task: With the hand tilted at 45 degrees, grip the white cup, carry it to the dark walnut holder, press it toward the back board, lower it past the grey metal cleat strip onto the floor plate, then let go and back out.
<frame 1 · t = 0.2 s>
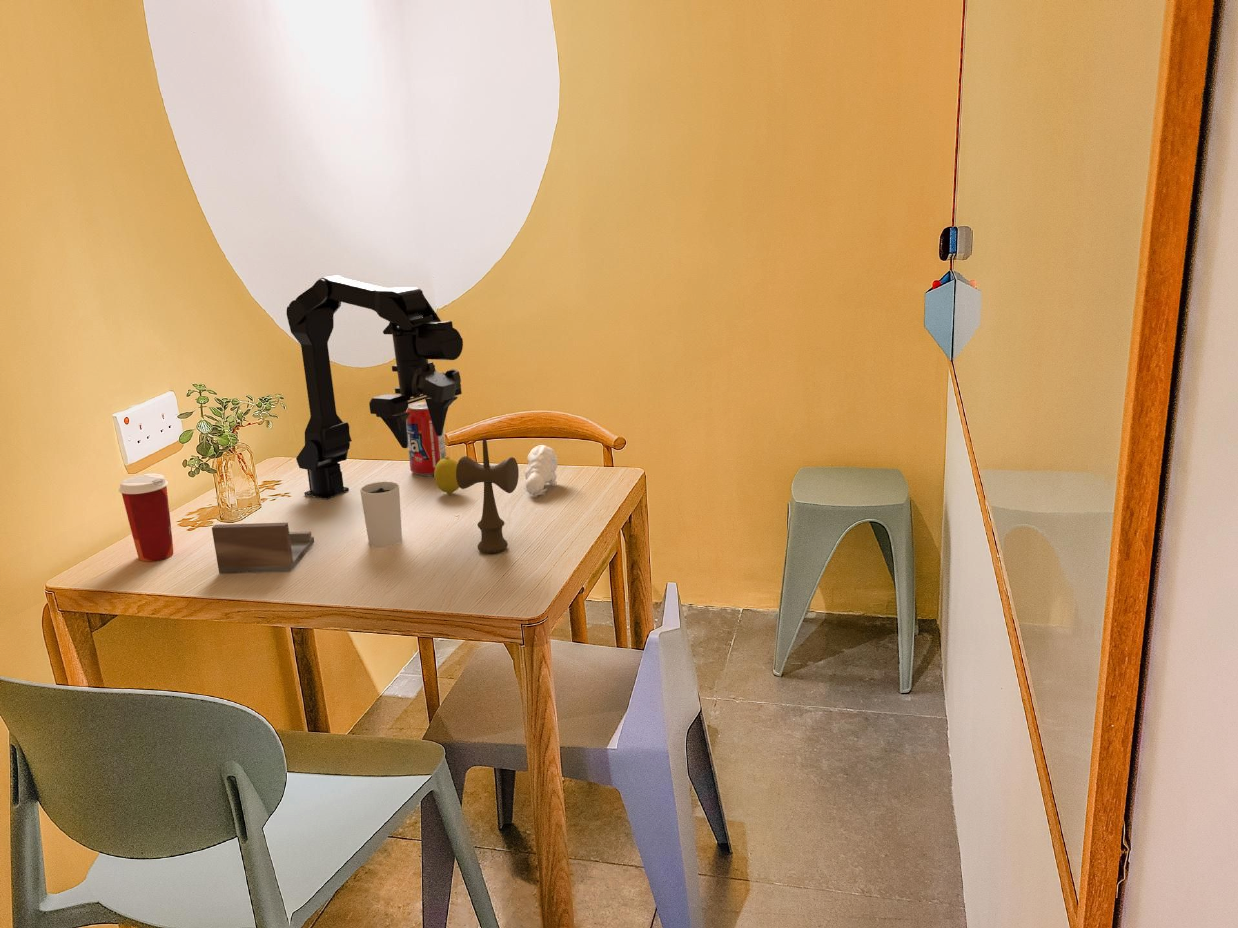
hand: (422, 441, 186), 14 cm above the table, tool pointing down, fingers open, 9 cm apart
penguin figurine: (540, 491, 202), on the table
glass holder: (267, 557, 171), on the table
white cup: (385, 541, 177), on the table
kendama: (493, 550, 172), on the table
soda can: (429, 473, 216), on the table
paper cup: (156, 556, 174), on the table
lemon: (450, 495, 201), on the table
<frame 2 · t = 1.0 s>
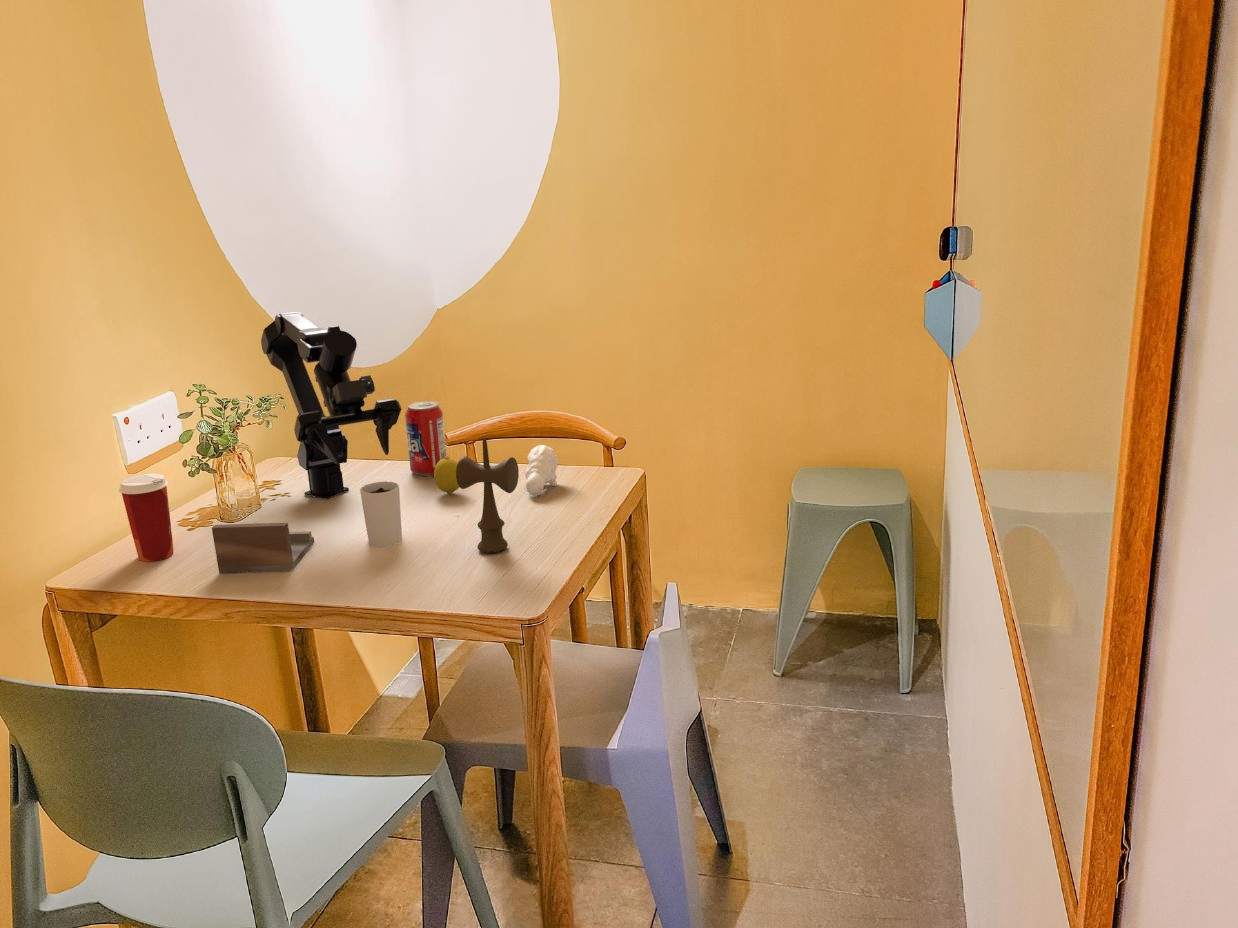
hand: (362, 458, 180), 13 cm above the table, tool tilted 45°, fingers open, 9 cm apart
nothing on the table moved.
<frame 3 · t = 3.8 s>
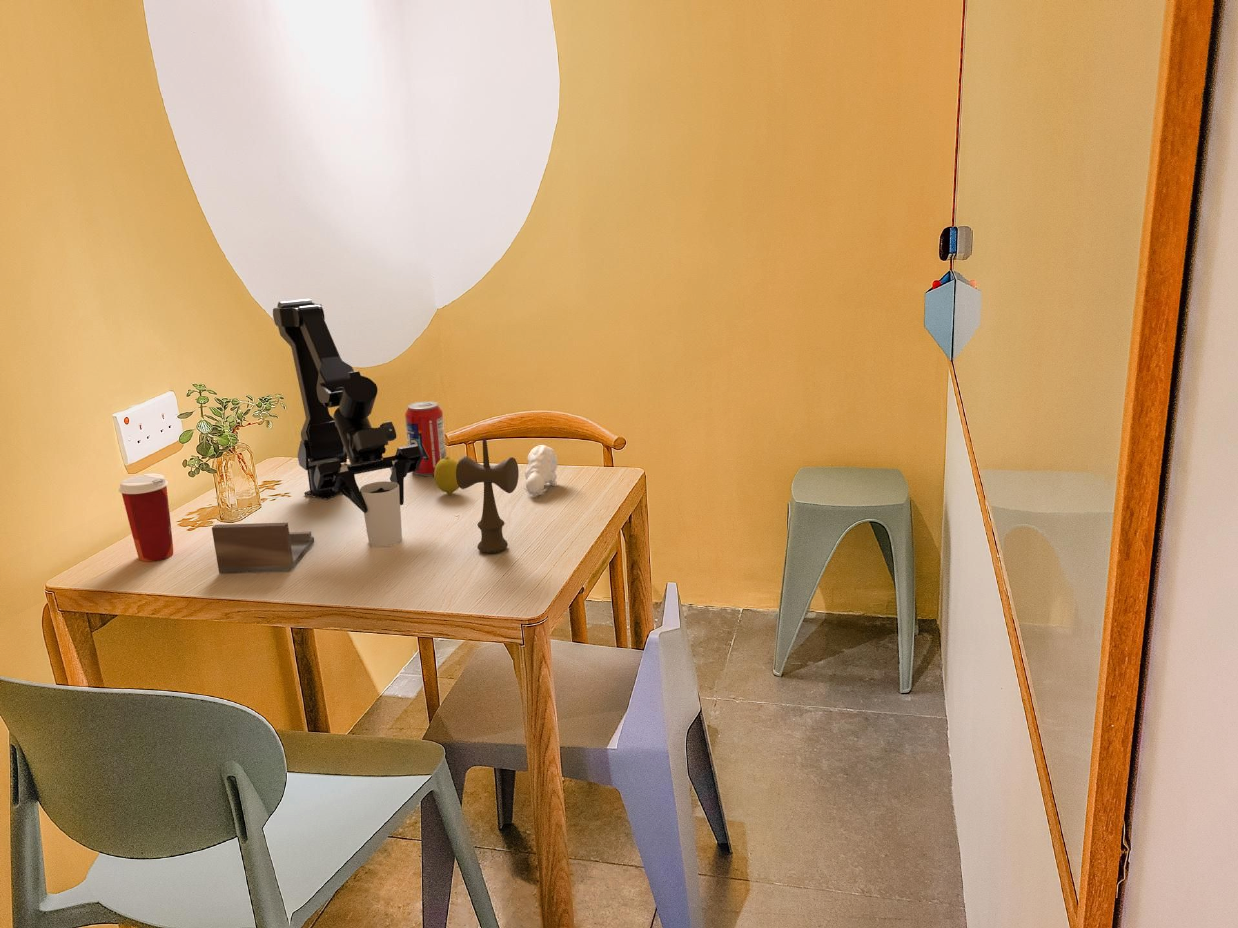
hand: (384, 507, 174), 7 cm above the table, tool tilted 45°, fingers closed on white cup, 6 cm apart
white cup: (385, 541, 177), on the table, touching gripper
everything else where it was.
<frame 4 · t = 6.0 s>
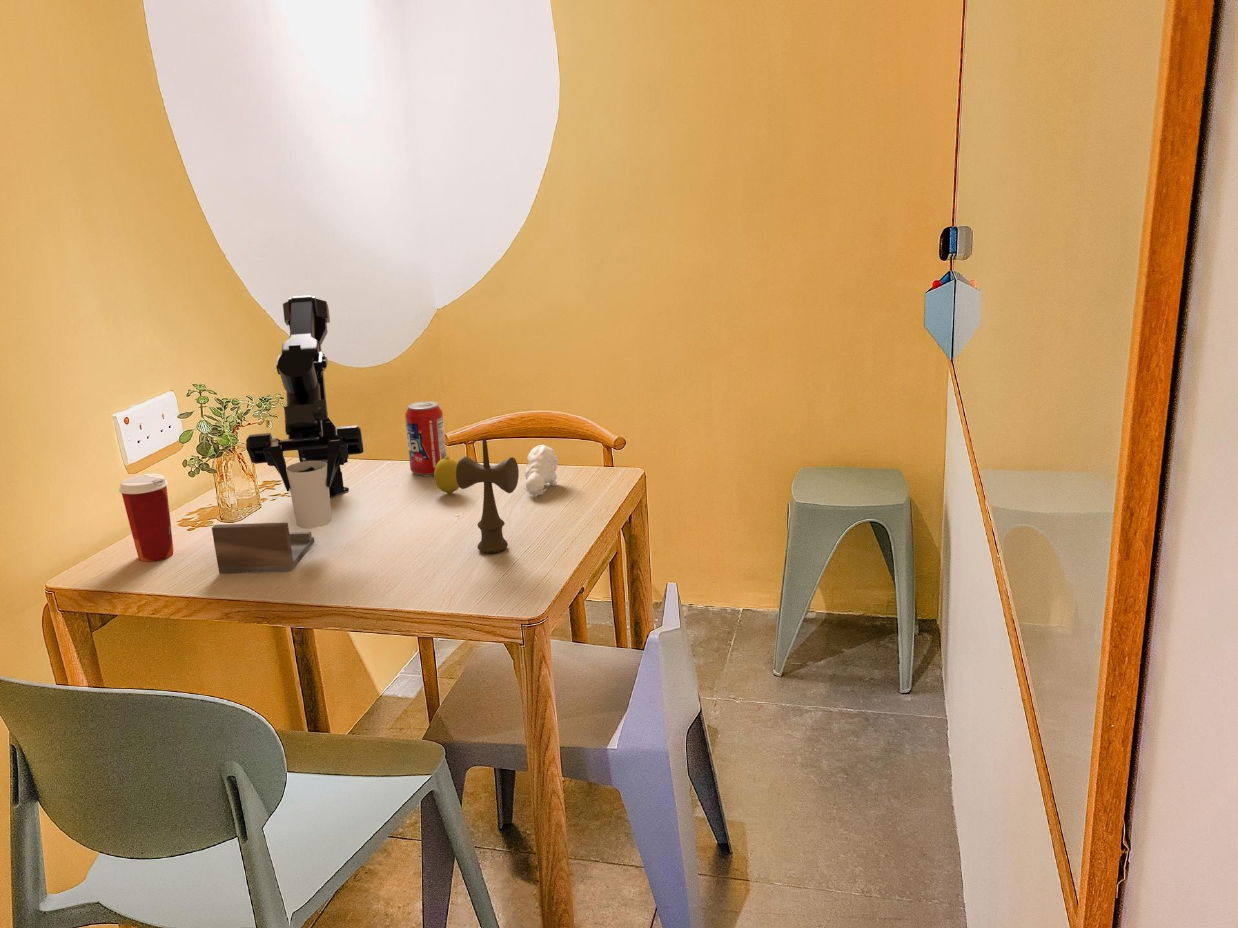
hand: (308, 488, 168), 12 cm above the table, tool tilted 45°, fingers closed on white cup, 6 cm apart
white cup: (314, 523, 171), point 5 cm above the table, touching gripper
everything else where it was.
when the fingers open (9 cm above the table, at t = 8.1 s): white cup drops 1 cm, resting on glass holder.
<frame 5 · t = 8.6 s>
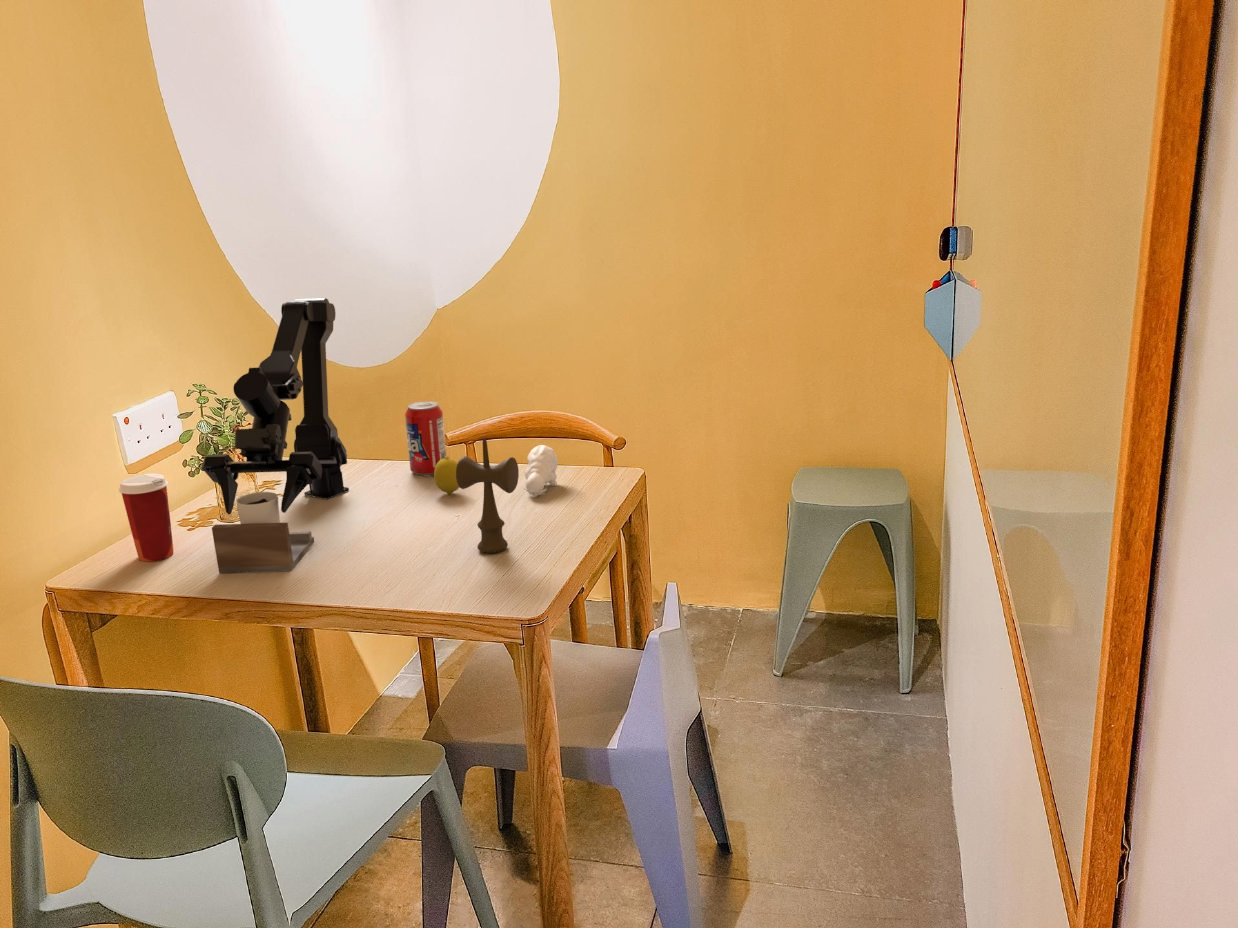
hand: (255, 512, 167), 9 cm above the table, tool tilted 45°, fingers open, 9 cm apart
white cup: (265, 554, 171), point 1 cm above the table, touching glass holder
everything else where it was.
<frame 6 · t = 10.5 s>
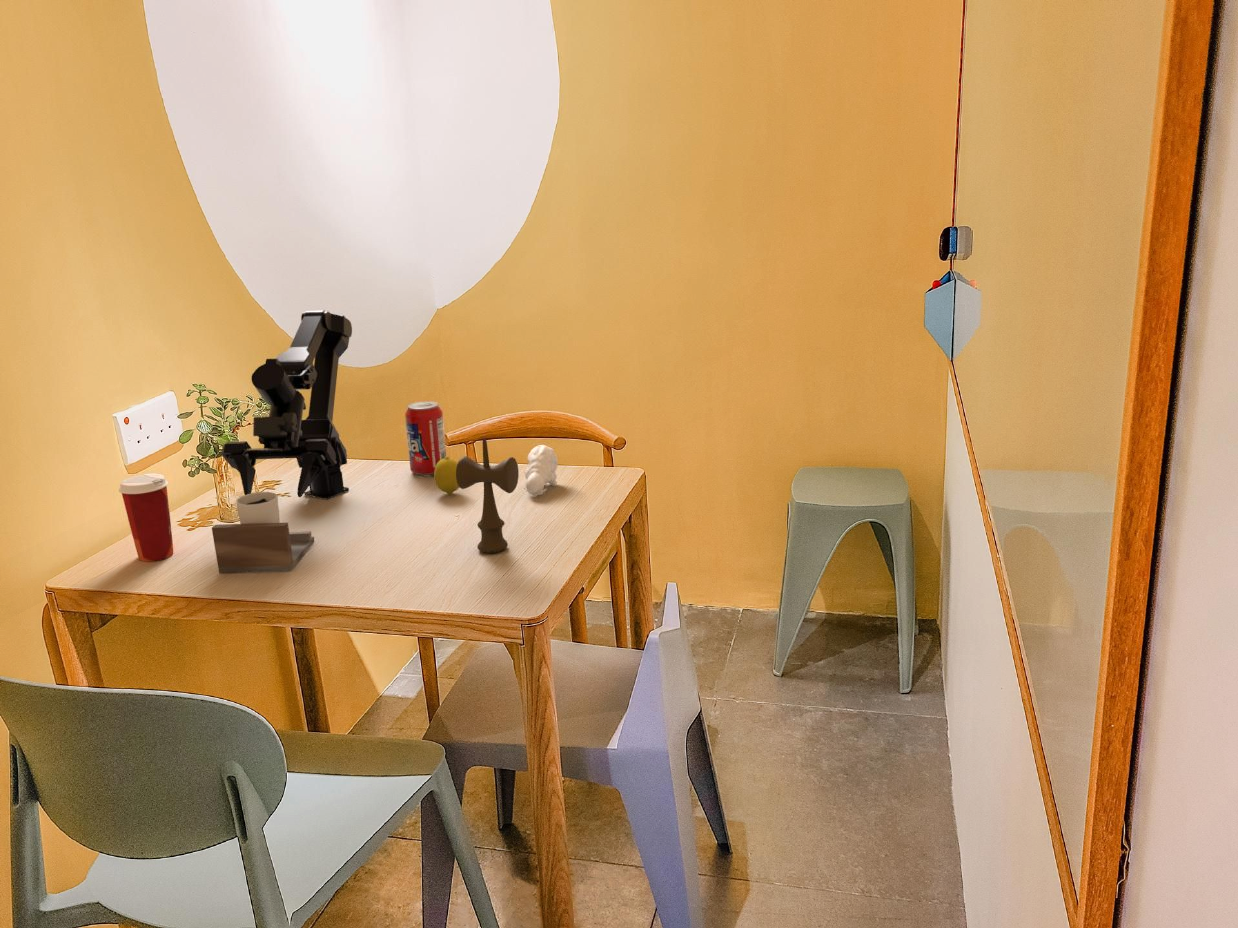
hand: (273, 496, 175), 9 cm above the table, tool tilted 45°, fingers open, 9 cm apart
nothing on the table moved.
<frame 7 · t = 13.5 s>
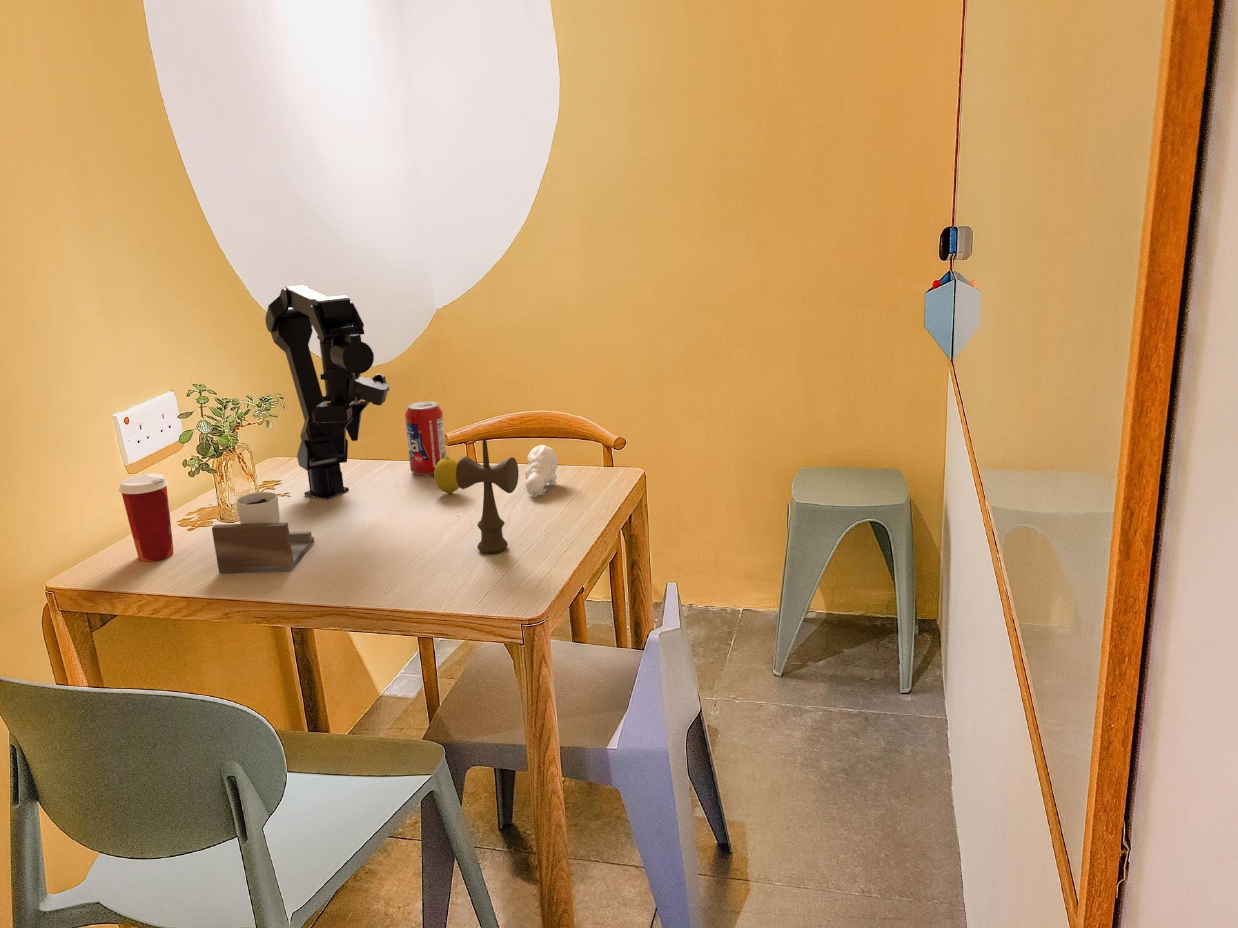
hand: (348, 447, 189), 13 cm above the table, tool pointing down, fingers open, 9 cm apart
nothing on the table moved.
at the end: white cup inside the target area on the glass holder (0.5 cm from its centre), point 0.8 cm above the glass holder's base; white cup tilted 0°; the gripper is holding nothing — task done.
